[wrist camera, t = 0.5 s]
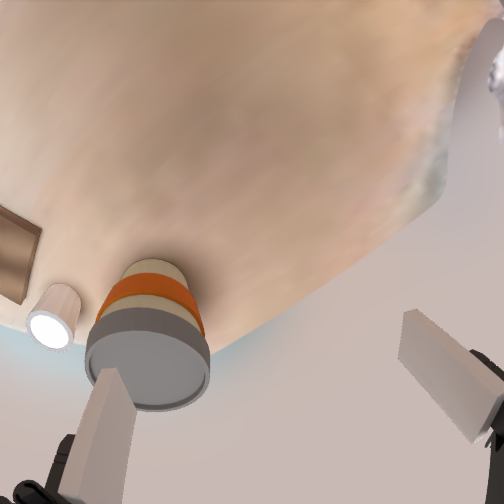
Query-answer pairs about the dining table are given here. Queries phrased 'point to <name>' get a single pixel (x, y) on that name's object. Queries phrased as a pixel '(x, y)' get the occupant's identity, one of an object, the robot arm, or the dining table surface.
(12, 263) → the lever stand
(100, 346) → the reusable coffee cup
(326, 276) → the dining table surface
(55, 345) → the white cylinder
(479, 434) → the robot arm
